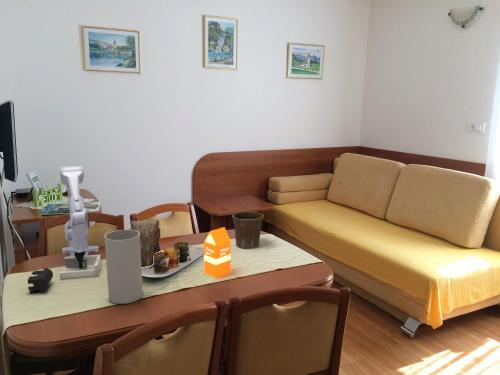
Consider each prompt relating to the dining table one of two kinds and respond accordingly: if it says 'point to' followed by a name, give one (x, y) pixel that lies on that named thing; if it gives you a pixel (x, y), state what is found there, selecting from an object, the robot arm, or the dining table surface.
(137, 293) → the cylinder vase
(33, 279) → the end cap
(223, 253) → the orange juice
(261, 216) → the plant pot
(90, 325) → the dining table surface
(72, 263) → the side door
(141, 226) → the brown rough block
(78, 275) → the white open tray
